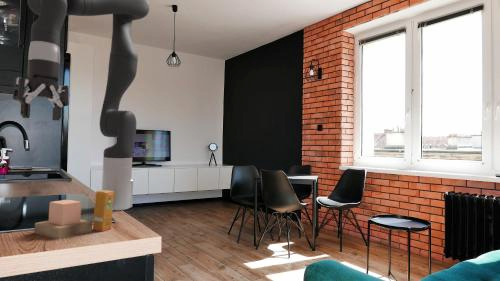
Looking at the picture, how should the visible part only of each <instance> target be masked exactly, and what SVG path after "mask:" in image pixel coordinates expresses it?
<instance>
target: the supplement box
mask: <svg viewBox="0 0 500 281" xmlns="http://www.w3.org/2000/svg"><path fill="white" fill-rule="evenodd" d="M113 199H114V192H113V191H108V190H103V191H102V190H97V191H96V192H95V202H94V212H93V222H92V231H93V230H94V231H96V232H97V231H98V232H105V231H108V230H111V229H112V221H113V220H112V219H113V211H114V210H113Z"/></svg>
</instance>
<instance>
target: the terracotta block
mask: <svg viewBox="0 0 500 281" xmlns="http://www.w3.org/2000/svg"><path fill="white" fill-rule="evenodd" d="M82 203H83V202H82V201H78V200H73V199H63V200H55V201H49V207H48V208H49V209H48V220H47V221H48V222H49V223H53V224H58V225H67V224H72V223H77V222H80V219H82V218H81V217H82Z"/></svg>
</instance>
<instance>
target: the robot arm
mask: <svg viewBox="0 0 500 281" xmlns="http://www.w3.org/2000/svg"><path fill="white" fill-rule="evenodd" d="M26 2H27V6H28V7H29V9H30V10H31V11H32V13H34V14H36V15H37V16H38V18H37V19H36V20H35V21H34V22H33V23H32V24H31V28H30V44H29V49H28V59H27V60H28V62H27V63H28V64H27V76H28V78H25V77H16V78H14V83H13V84H14V85H13V92H12V100H13V101H17V102H18V103H20V116H21V117H22V119H30V116H31V104H30V102H32V101H33V99H36V97H37V98H43V99H48V101H49V102H51V105H52V106H53V107H52V120H53V121H60V119H61V118H62V109H63V108H64V107H68V106H69V97H70V96H69V95H70V94H69V85H59V82H58V81H59V79H60V67H61V50H60V49H61V48H60V45H61V31H62V28H63V26H64V22H65V19H66V16H74V17H75V16H76V17H95V16H96V17H97V16H106V15H112V34H111V42H110V43H111V44H110V53H109V59H108V60H109V61H108V67H107V68H108V72H107V80H106V88H105V94H104V98H103V103H102V108H101V111H100V117H99V129H100V131H99V132H100V133H101V135H103V137H107V138H117V140H116V143H114V145H112V146H109V147H106V148H105V149H104V150H103V157H102V178H101V181H102V182H101V191H103V190H108V191H113V192H114V199H113V211H124V210H128V209H130V208H133V192H134V180H133V178H132V174H133V173H132V171H133V169H132V168H133V153H134V150H135V146H136V145H135V144H136V134H137V118H136V115H135V113H133V111H130V110H119V109H120V104H121V101H122V97H123V96H124V94H125V92H126V91H127V90H128V89H129V87H130V86H132V83H133V82H134V80H135V78H136V77H137V76H136V75H137V70H138V62H139V57H138V56H139V55H138V53H137V49H136V48H135V45H134V43H133V40H132V35H131V31H132V30H131V29H132V24H133V21H138V20H141V19H144V18H145V17H147V15H148V14H149V13H150V3H149V1H148V0H27V1H26ZM26 86H27V87H28V89H27V90H26V92H25V87H26ZM57 92H58V93H59V94H58V93H57Z"/></svg>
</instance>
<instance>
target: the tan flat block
mask: <svg viewBox="0 0 500 281" xmlns="http://www.w3.org/2000/svg"><path fill="white" fill-rule="evenodd" d="M48 221H49V220H44V221H39V222H35V223H34V234H36V235H40V236H42V237H43V236H44V237H48V238H52V239H56V240H61V239H65V238H69V237H73V236H77V235H82V234H86V233H90V232H91V233H92V231H93V221H91V220H87V219H83V218H81V219H80V222H77V223H72V224H67V225H58V224H53V223H49V222H48Z"/></svg>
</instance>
